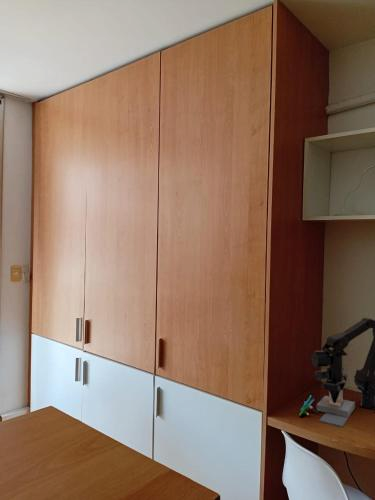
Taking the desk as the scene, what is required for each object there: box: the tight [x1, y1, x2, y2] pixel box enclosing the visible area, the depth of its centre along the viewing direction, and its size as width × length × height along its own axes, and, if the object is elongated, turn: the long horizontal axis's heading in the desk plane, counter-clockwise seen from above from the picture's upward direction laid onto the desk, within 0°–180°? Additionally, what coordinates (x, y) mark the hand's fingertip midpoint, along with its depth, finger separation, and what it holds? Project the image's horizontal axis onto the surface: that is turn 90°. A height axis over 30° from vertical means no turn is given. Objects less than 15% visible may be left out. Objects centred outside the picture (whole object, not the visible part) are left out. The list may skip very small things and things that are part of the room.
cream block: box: [328, 390, 344, 407], centre depth 168 cm, size 4×4×8 cm
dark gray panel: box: [318, 412, 349, 428], centre depth 156 cm, size 9×9×1 cm
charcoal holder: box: [316, 395, 356, 419], centre depth 168 cm, size 13×13×2 cm
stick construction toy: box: [299, 395, 320, 417], centre depth 163 cm, size 12×7×8 cm
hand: (335, 400), depth 168 cm, fingers closed on cream block, 4 cm apart
